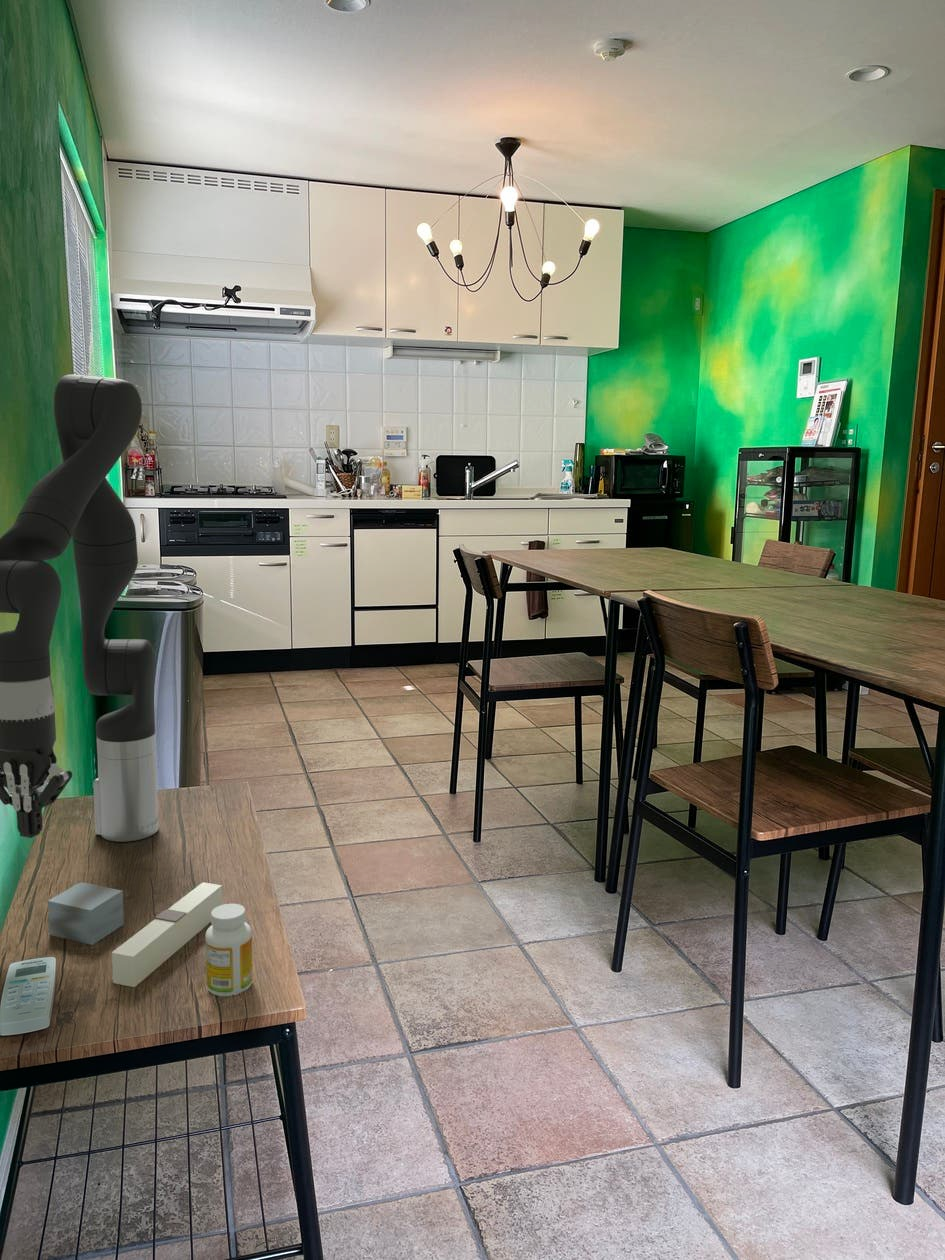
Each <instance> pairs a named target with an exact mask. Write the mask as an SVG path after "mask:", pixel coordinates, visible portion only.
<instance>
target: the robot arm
mask: <svg viewBox="0 0 945 1260" xmlns="http://www.w3.org/2000/svg"><path fill="white" fill-rule="evenodd" d="M53 395H54V396H53V414H54V421H55V427H56V432H57V437H58V444H59V448H60V452H61V459H62V462H61V463H59V464H58V465H57V466H56V467H54V468H53V469H52V470H50V471H49V472H48V473H46V475H44V476H43V477H42V478H40V479H39V481H37V483H35V484H34V486H33V487H32V489H31V490H30V492H29V494H28V495H27V496H26V499H25V500H24V503H23V504H22V507H21V509H20V511H19V513H18V515H17V517H16V519H14V520H15V521H14V523H13V524H12V526H10V528H9V529H8V530H7V531H6V532H4V533H3V534H2V535H1V536H0V613H1V614H2V613H3V614H7V613H8V614H19V615H18V620H17V624H16V626H15V629H12V630H6V631H2V632H0V801H1V802H2V804H3V805H4V806H8V805H10V806H12V808H13V810H14V811H16V823H17V825H16V826H17V831H18V832H19V835H20V837H21V838H29V839H32V838H34V837H37V836H38V835H39V834H40V833H41V831H42V830H43V826H44V825H43V808H45V807H48V806H50V805H53V803H55V802H56V800H57V799H58V798H59V796H60V795H61V793H62V792H63V790H65V787H66V786H67V785H68V783H69V782H70V781H71V779H72V778H73V773H72V771H71V770H69V769H66V770H63V769H62V768H61V767H60V766H59V765H58V764H57V760H58V759H57V756H56V754H55V752H54V751H55V750H54V746H55V742H56V740H57V733H56V732H57V731H56V728H57V727H56V714H55V713H56V712H55V708H56V707H55V694H54V693H55V692H54V685H53V682H52V681H53V680H52V674H51V673H52V672H51V671H52V670H51V656H50V652H51V651H50V644H51V639H52V635H53V630H54V626H55V621H56V617H57V615H58V614H57V612H58V609H59V605H60V602H61V595H62V584H61V580H60V576H59V574H58V573H57V571H56V570H55V568H54V567H53V566H52V565H51V564H50V563H48V562H46V561H48V560H52V559H56V558H58V557H60V556H61V555H62V554H63V553H64V552H65V551H66V550H67V548H68V545H69V543H70V542H71V539H72V546H73V547H72V550H73V556H74V557H73V558H74V563H75V564H74V565H75V571H76V579H77V586H78V587H77V589H78V594H79V602H80V604H79V605H80V617H81V619H80V620H81V621H80V623H81V624H80V625H81V647H82V648H81V649H82V656H81V657H82V673H83V679H84V684H85V687H86V689H87V691H88V693H90V695H94V696H133V700H132V702H130V703H128V704H127V705H126V706H124V707H121V708H119V709H117V710H114V711H111V712H108V713H106V714H104V715H102V716H100V717H99V718H98V719H97V721H96V723H95V732H96V733H95V736H96V754H97V756H96V757H97V776H98V777H97V778H95V779H94V780H93V783H92V784H93V786H92V787H93V807H94V825H95V826H94V828H95V835H99V836H101V837H102V838H103V839H105V840H107V841H111V842H118V843H119V842H121V843H123V842H133V841H134V842H135V841H140V840H143V839H144V840H145V839H146V838H150V837H151V836H153V835H155V834H157V832H158V830H159V805H158V803H159V801H158V800H159V799H158V771H157V745H156V741H157V740H156V721H155V719H156V717H155V716H156V715H155V712H156V711H155V682H156V681H155V678H156V677H155V675H156V658H155V650H154V647H153V645H152V643H151V642H150V640H148V639H142V638H132V639H130V638H129V639H128V638H127V639H126V638H124V639H122V638H120V639H116V638H115V639H113V638H111V639H108V638H106V637H105V628H106V624H107V622H108V619H109V617H110V615H111V613H112V611H113V609H114V606H116V603H117V602H118V600H119V599H120V597H121V596H122V594H123V593H124V592H125V590H126V588H127V587H128V586H129V584H130V582H131V580H132V579H133V577H134V575H135V573H136V571H137V568H138V564H139V557H138V555H139V554H138V544H137V543H138V541H137V529H136V524H135V522H134V519H133V517H132V515H131V512H129V510H128V508H127V507H126V505H125V504H124V502H123V501H122V499H121V498H120V496H119V495H118V493H117V492H116V490H115V489H114V487H112V485H111V484H110V482H109V480H108V478H107V476H108V474H109V473H110V472H111V470H112V469H113V468H114V466H115V465H116V463H117V462H118V461H119V459H120V458H121V456H122V455H123V454H124V452H125V451H126V449H127V448H128V446H129V445H130V444H131V443H132V440H133V439H134V438H135V436H136V434H137V432H138V429H139V428H140V424H141V420H142V415H143V407H142V400H141V395H140V393H139V391H138V389H137V387H135V385H134V384H133V383H131V382H130V381H128V380H125V379H120V378H117V377H116V378H115V377H106V376H105V377H104V376H95V375H85V374H75V373H73V374H65V375H63V376H62V377H61V378H60V379H59V380H58V381H57V384H56V386H55V389H54V394H53ZM6 789H7V790H6Z"/></svg>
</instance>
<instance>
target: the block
mask: <svg viewBox="0 0 945 1260" xmlns="http://www.w3.org/2000/svg"><path fill="white" fill-rule="evenodd" d="M123 893H124V892H123V890H120V889H117V888H112V887H111V888H110V887H106V886H101V885H96V884H93V883H92V884H91V883H88V882H81V881H80V882H78V883H76V884H75V885H73V886H71V887H70V888H67V889H66V890H64V891H62V892H60V893H59V894H57V895H56V896H54V897H51V898H50V899H49V900H47V911H48V926H49V927H48V928H49V935H50V936H54V937H57V938H61V939H66V940H71V941H74V942H78V943H82V944H87V945H91V946H93V945H94V944H96V943H97V942H99V941H101V940H102V939H103V938H106V937H107V936H109V935H110V934H111V933H113V932H114V931H116V930H118V929H119V928H120V927H122V926H124V925H125V924H124V923H125V920H124V897H123Z"/></svg>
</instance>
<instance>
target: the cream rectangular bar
mask: <svg viewBox="0 0 945 1260" xmlns="http://www.w3.org/2000/svg"><path fill="white" fill-rule="evenodd" d="M220 905H223V885H221V884H216V883H209V882H201V883H200V884H198V885H197V886H196V887H195V888H194V889H192V890H191V891H190V892H188V893H187V894H186V895H184V896H183V897H182V898H180V899H179V900H178V901H176V902H175V903H174V904H173V905H171V906H170V907H169V908H168V909H167V908H165V909H163V911H161V912H160V913H159V914H157V915H156V916H155V917H154V920H152V921H151V922H149V923H148V924H147V925H146V926H144V927H143V928H141V929H140V930H139V931H138V932H136V933H135V934H134V935H132V936H131V937H130V938H128V939H127V940H126V941H125V942H123V943H122V944H120V945H119V946H118V947H117V948H116V949H114V950H113V951H111V969H112V970H111V971H112V984H116V985H120V986H121V985H122V986H126V987H132V988H136V987H137V986H138V985H139V984H140V983H142V982H143V981H144V980H145V979H146V978H147V977H148V976H149V975H150V974H152V973H153V972H154V971H155V970H157V969H158V968H159V967H160V966H161V965H163V964H164V963H165V962H166V961H167V960H168V959H170V958H171V957H172V956H173V955H174V954H175V953H176V952H178V951H179V950H180V949H181V948H182V947H183V946H184V945H185V944H187V943H188V942H189V941H191V940H192V938H194V937H195V936H196V935H197V934H198V933H199V932H201V931H202V930H204V928H206V927H207V926H208V925H209V924H210V923H211V912H212V910H213V909H214V908H216V907H218V906H220Z"/></svg>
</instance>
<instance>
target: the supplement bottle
mask: <svg viewBox="0 0 945 1260" xmlns="http://www.w3.org/2000/svg"><path fill="white" fill-rule="evenodd" d="M246 917H247V915H246V908H245V907H244V906H243V905H242V904H239V903H224V904H222V905H220V906H218V907H216V908H214V909H213V910H212V912H211V922H210V923H211V925H210V926H209V927H208V928H207V930H206V932H205V964H206V965H205V967H206V972H205V973H206V988H207V990H208V991H209V993H211V994H212V995H215V996H218V997H232V995H234V996H236V995H235V994H237V995H239V993H240V994H242V993H244V992H246V991H247V990H248V989H249V988H250V987H251V986H252V984H253V938H252V937H253V935H252V928H251V926H250V925H249V923H248V922H246ZM245 990H246V991H245ZM243 991H244V992H243ZM241 992H242V993H241Z"/></svg>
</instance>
